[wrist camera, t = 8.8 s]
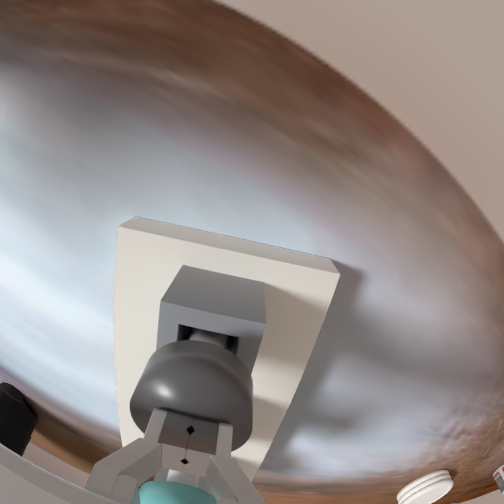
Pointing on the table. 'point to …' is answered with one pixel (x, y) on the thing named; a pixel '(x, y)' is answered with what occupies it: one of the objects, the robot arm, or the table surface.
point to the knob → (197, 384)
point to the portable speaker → (15, 420)
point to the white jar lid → (426, 488)
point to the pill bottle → (499, 478)
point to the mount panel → (218, 315)
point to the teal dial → (175, 490)
